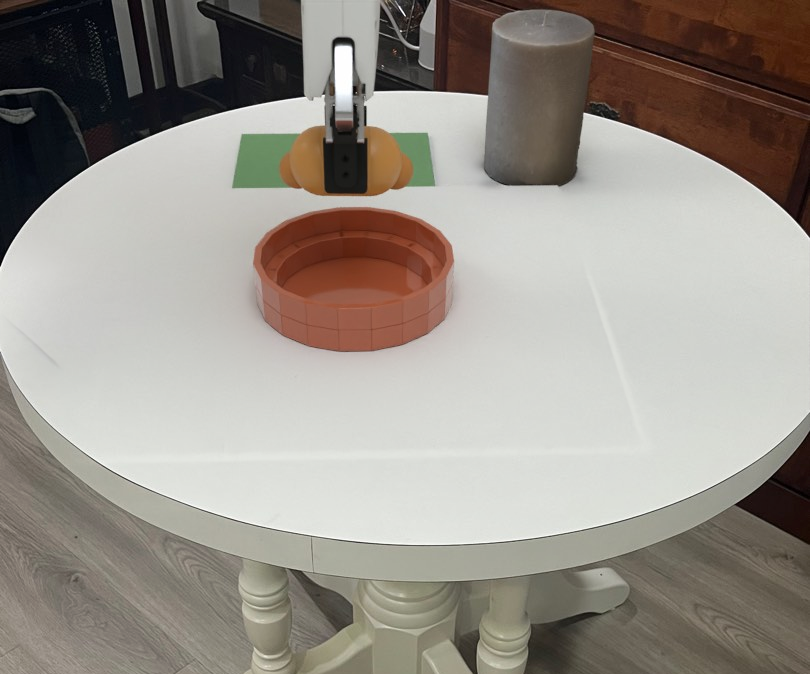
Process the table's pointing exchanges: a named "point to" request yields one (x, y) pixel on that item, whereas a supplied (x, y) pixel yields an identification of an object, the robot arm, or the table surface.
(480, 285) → the table surface
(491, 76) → the pillar candle
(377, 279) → the terracotta round dish
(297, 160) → the croissant
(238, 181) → the cloth
